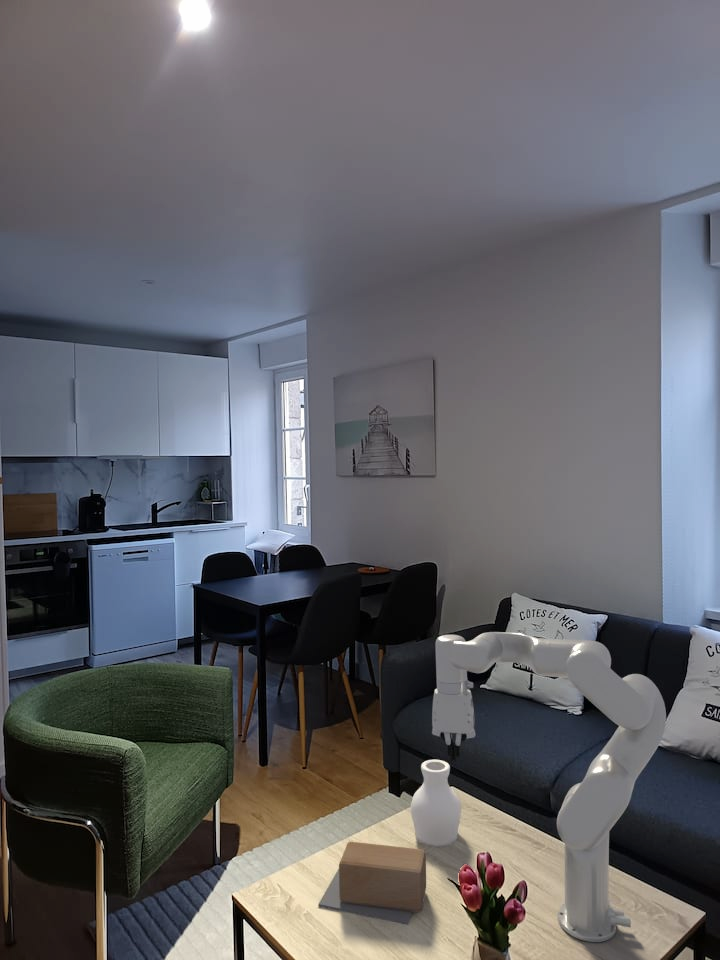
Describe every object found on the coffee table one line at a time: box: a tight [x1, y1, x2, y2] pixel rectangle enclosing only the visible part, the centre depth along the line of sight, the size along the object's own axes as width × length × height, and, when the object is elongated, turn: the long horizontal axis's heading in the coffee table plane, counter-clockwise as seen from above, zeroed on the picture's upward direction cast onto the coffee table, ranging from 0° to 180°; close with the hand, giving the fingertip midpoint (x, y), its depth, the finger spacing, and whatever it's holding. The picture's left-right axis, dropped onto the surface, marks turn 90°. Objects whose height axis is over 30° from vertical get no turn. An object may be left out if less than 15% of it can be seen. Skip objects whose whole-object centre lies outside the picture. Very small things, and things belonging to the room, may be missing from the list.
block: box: [338, 841, 427, 913], centre depth 164 cm, size 10×10×20 cm
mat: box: [318, 868, 414, 925], centre depth 166 cm, size 22×18×1 cm
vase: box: [410, 759, 462, 848], centre depth 191 cm, size 14×14×20 cm
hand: (454, 758), depth 168 cm, fingers closed
